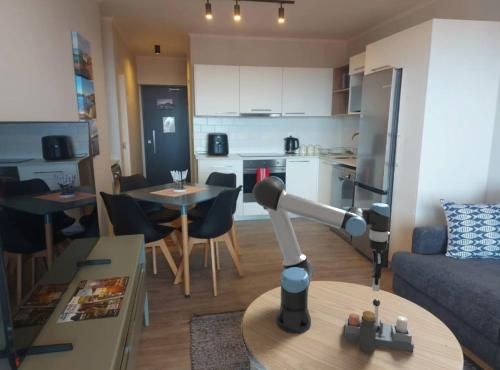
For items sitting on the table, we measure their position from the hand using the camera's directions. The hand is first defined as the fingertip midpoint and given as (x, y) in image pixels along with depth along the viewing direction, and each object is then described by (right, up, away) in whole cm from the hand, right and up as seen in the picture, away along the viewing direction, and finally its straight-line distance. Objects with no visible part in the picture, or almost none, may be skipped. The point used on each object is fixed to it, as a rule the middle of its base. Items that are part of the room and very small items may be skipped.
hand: (375, 290), depth 147 cm
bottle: (-10, -17, -18) cm, 27 cm away
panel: (-3, -16, -10) cm, 19 cm away
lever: (-4, -12, -11) cm, 16 cm away
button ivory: (+4, -11, -16) cm, 20 cm away
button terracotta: (-13, -12, -11) cm, 21 cm away
